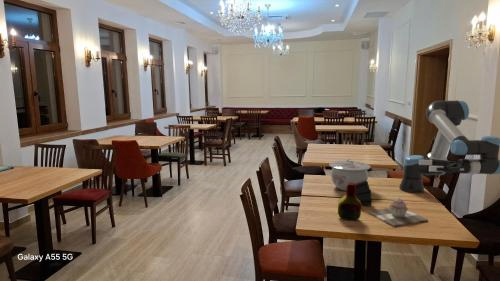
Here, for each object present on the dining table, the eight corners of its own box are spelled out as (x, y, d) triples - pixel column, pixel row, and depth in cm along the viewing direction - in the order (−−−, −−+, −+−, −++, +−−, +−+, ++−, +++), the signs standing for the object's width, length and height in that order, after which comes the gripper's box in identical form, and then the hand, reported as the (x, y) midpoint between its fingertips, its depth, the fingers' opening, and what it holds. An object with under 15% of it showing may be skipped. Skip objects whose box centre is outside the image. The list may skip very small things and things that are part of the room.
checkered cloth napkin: (399, 208, 190) (400, 206, 190) (427, 221, 171) (428, 219, 171) (367, 212, 184) (368, 211, 183) (393, 227, 165) (393, 225, 165)
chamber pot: (364, 197, 209) (365, 165, 206) (322, 190, 223) (323, 161, 220) (373, 186, 232) (375, 157, 229) (335, 180, 247) (336, 153, 244)
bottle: (361, 218, 176) (363, 182, 173) (360, 222, 170) (362, 185, 167) (338, 215, 181) (339, 180, 177) (336, 219, 175) (338, 183, 172)
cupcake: (400, 211, 182) (401, 194, 181) (411, 218, 173) (412, 200, 172) (385, 212, 181) (386, 195, 179) (395, 219, 172) (396, 201, 170)
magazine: (377, 204, 191) (366, 181, 192) (355, 211, 197) (345, 188, 197) (377, 202, 195) (366, 179, 195) (355, 209, 200) (345, 186, 201)
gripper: (480, 180, 157) (433, 178, 160) (455, 167, 182) (414, 166, 184) (482, 165, 156) (434, 164, 159) (456, 154, 180) (415, 153, 183)
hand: (423, 165), depth 172 cm, fingers open, 13 cm apart
